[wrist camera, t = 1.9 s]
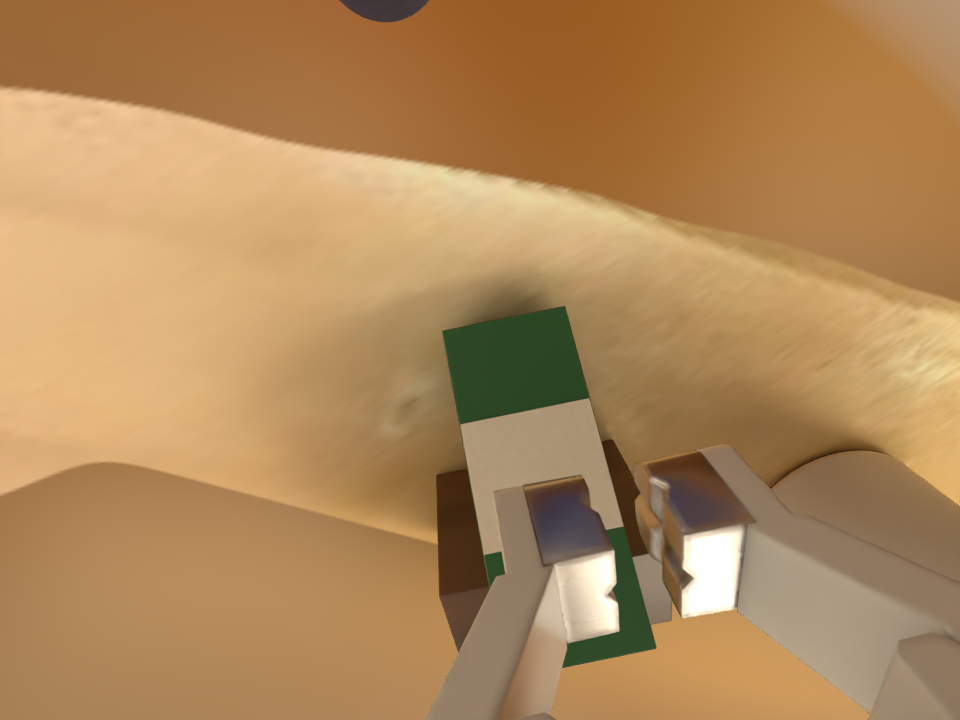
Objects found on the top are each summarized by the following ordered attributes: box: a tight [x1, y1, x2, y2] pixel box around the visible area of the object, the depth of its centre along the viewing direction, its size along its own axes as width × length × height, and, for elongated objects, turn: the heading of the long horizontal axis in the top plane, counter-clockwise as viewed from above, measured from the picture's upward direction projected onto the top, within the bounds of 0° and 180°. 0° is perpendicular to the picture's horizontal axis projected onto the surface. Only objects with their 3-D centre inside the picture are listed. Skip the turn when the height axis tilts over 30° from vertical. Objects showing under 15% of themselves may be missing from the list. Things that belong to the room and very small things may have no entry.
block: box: [436, 440, 672, 653], centre depth 30 cm, size 6×12×9 cm, turn 100°
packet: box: [443, 306, 656, 668], centre depth 24 cm, size 13×6×13 cm, turn 10°
